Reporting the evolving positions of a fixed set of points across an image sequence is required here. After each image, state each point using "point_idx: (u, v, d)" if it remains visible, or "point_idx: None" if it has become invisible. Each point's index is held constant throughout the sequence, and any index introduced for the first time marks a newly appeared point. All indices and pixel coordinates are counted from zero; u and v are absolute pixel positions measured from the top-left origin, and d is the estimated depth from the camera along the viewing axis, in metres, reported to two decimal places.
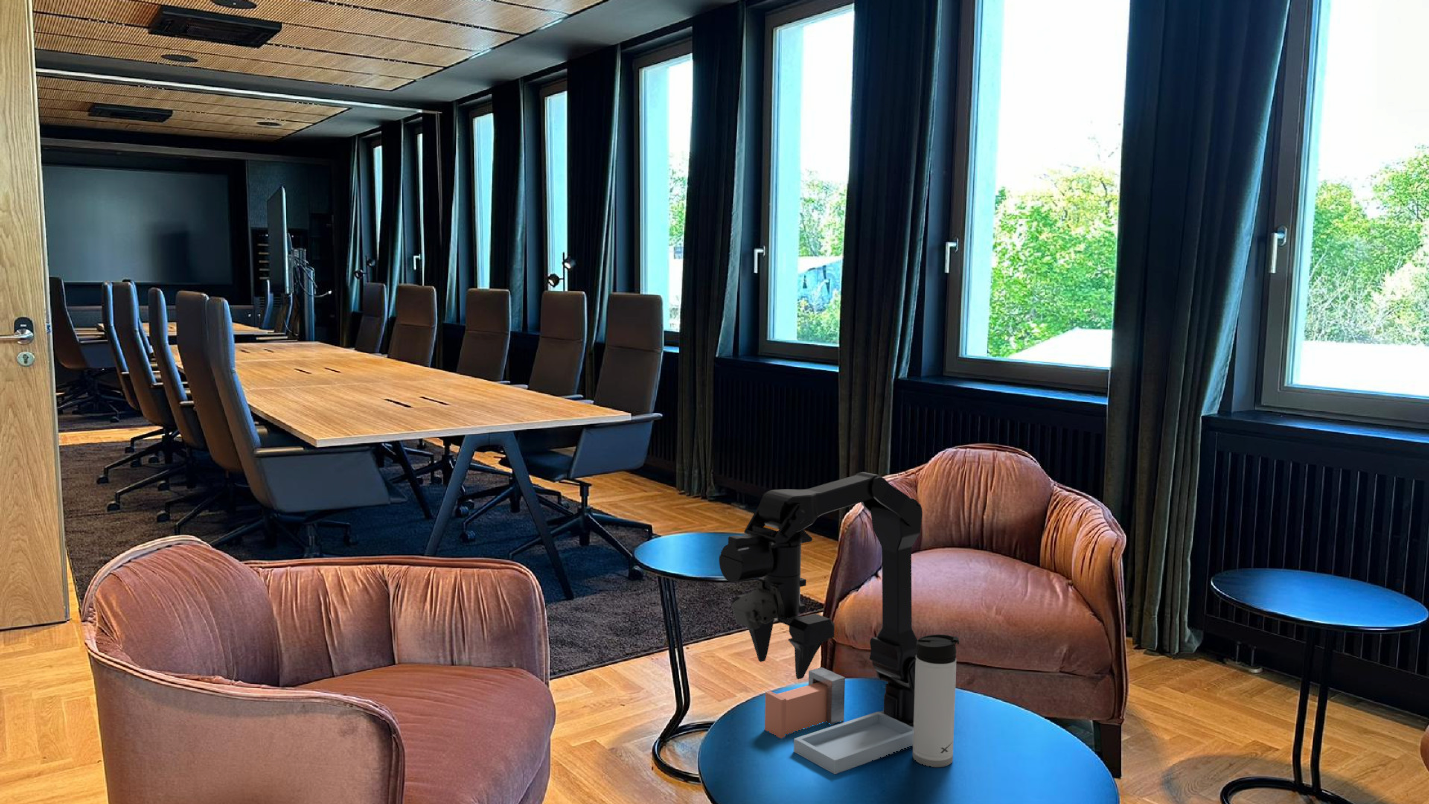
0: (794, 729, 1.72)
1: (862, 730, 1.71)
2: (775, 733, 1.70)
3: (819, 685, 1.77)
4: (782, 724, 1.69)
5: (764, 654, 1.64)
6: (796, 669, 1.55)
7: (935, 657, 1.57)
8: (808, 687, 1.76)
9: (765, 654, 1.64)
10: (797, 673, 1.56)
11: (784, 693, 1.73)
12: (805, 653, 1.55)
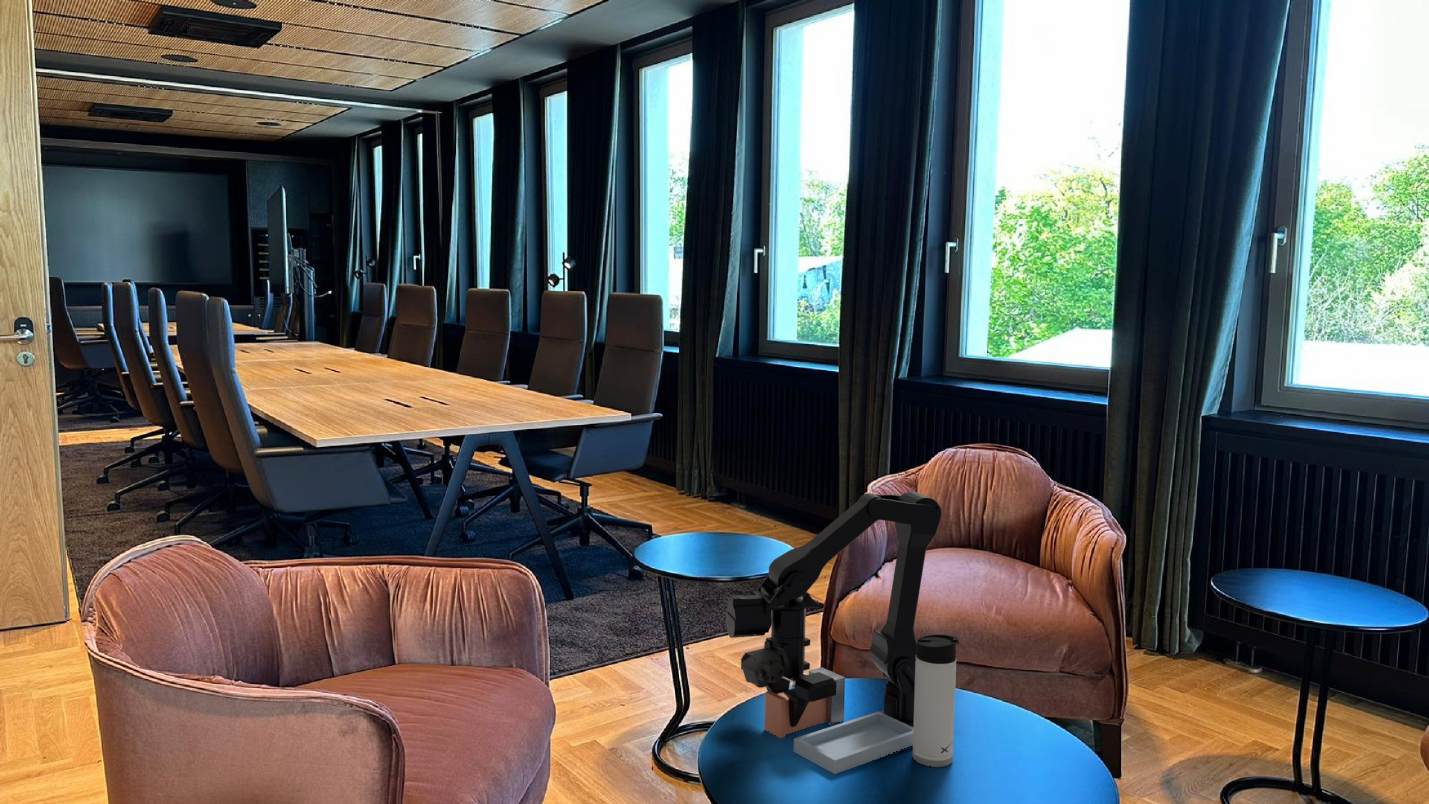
0: (794, 729, 1.72)
1: (862, 730, 1.71)
2: (775, 733, 1.70)
3: None
4: (782, 724, 1.69)
5: None
6: (790, 718, 1.70)
7: (934, 657, 1.58)
8: None
9: None
10: (791, 721, 1.70)
11: None
12: (798, 703, 1.70)
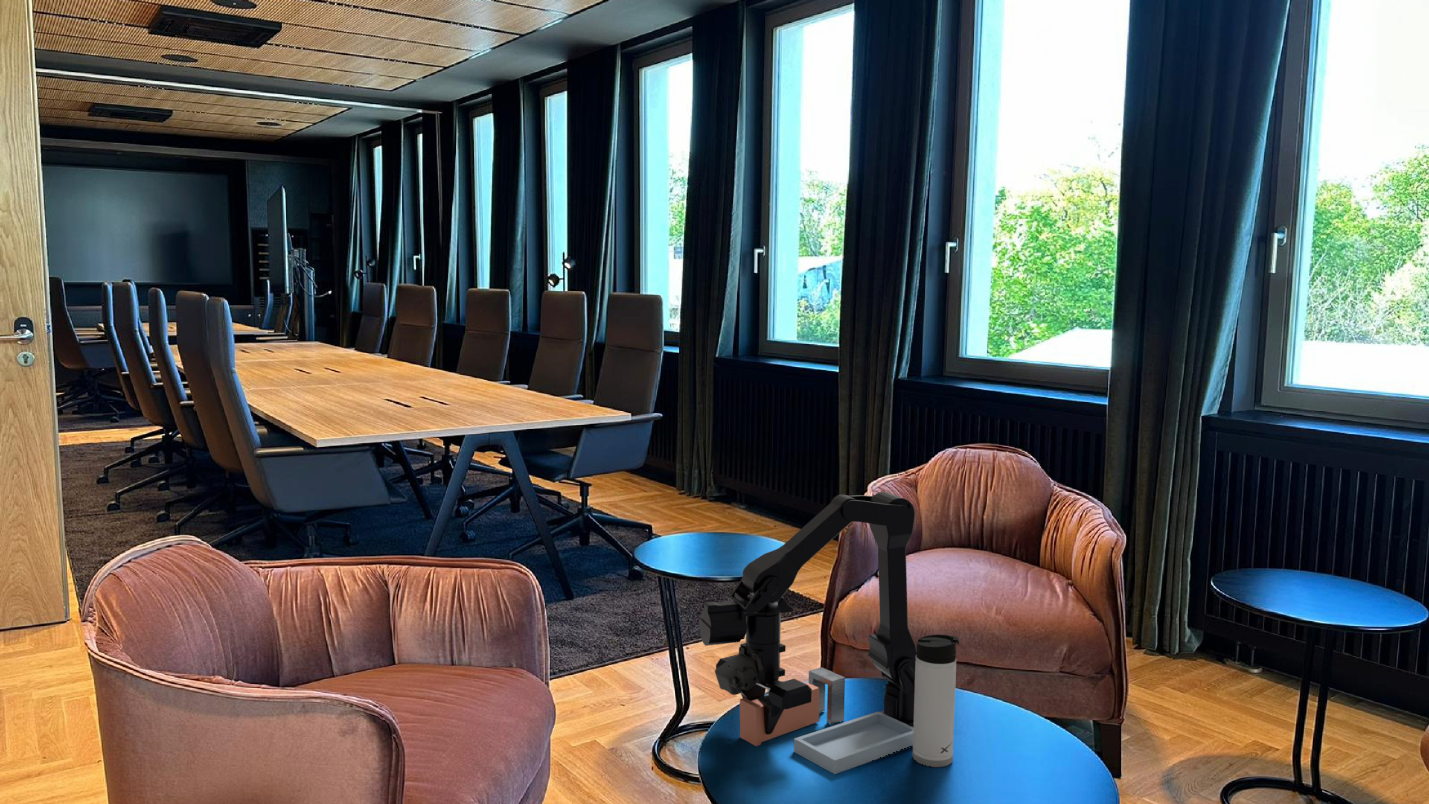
0: (770, 736, 1.69)
1: (862, 730, 1.71)
2: (750, 741, 1.67)
3: None
4: (757, 731, 1.66)
5: None
6: (765, 725, 1.67)
7: (935, 657, 1.57)
8: None
9: None
10: (766, 729, 1.67)
11: None
12: (773, 711, 1.67)
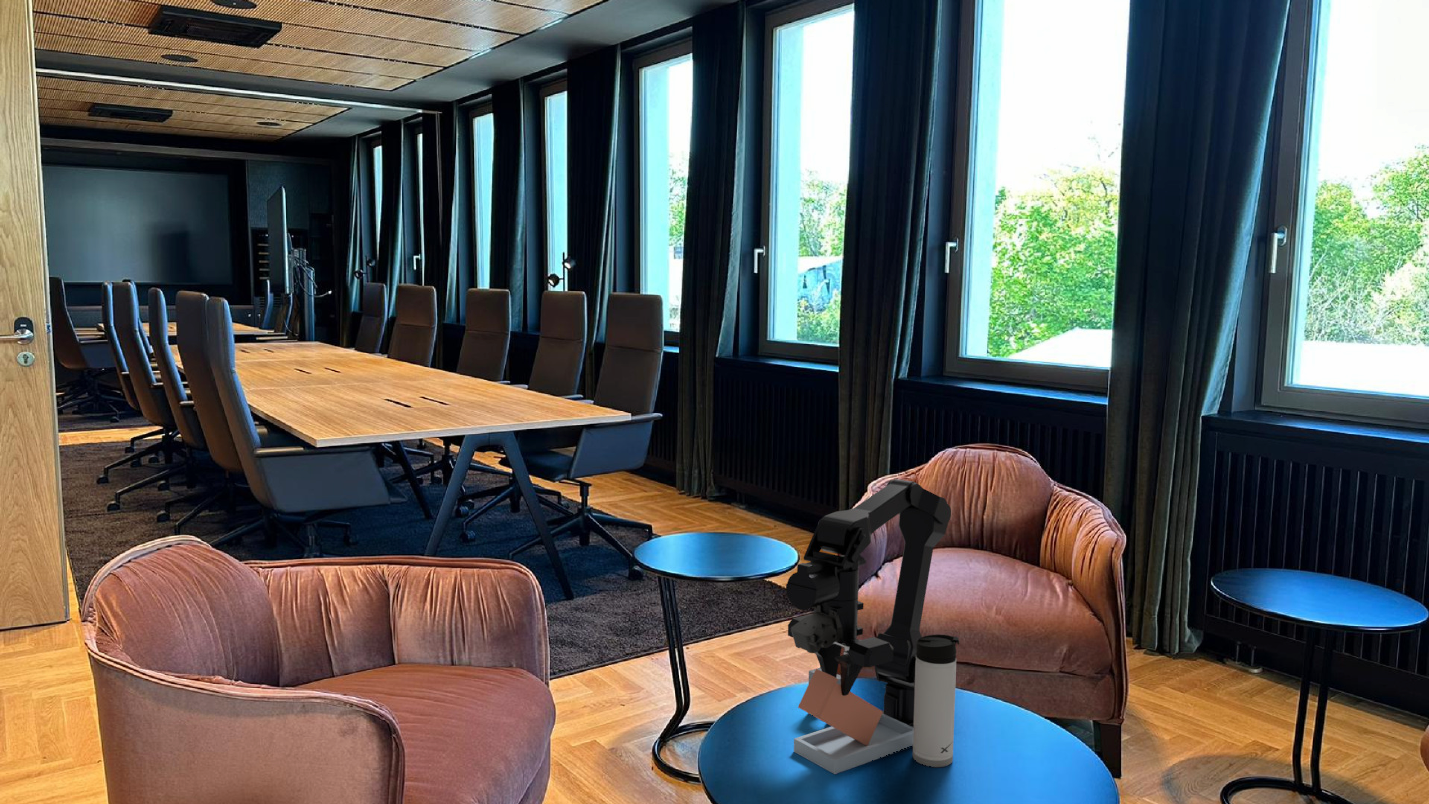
0: (828, 719, 1.59)
1: None
2: (810, 710, 1.58)
3: None
4: (823, 702, 1.58)
5: None
6: (842, 686, 1.60)
7: (935, 657, 1.57)
8: None
9: None
10: (843, 690, 1.60)
11: None
12: (850, 670, 1.60)
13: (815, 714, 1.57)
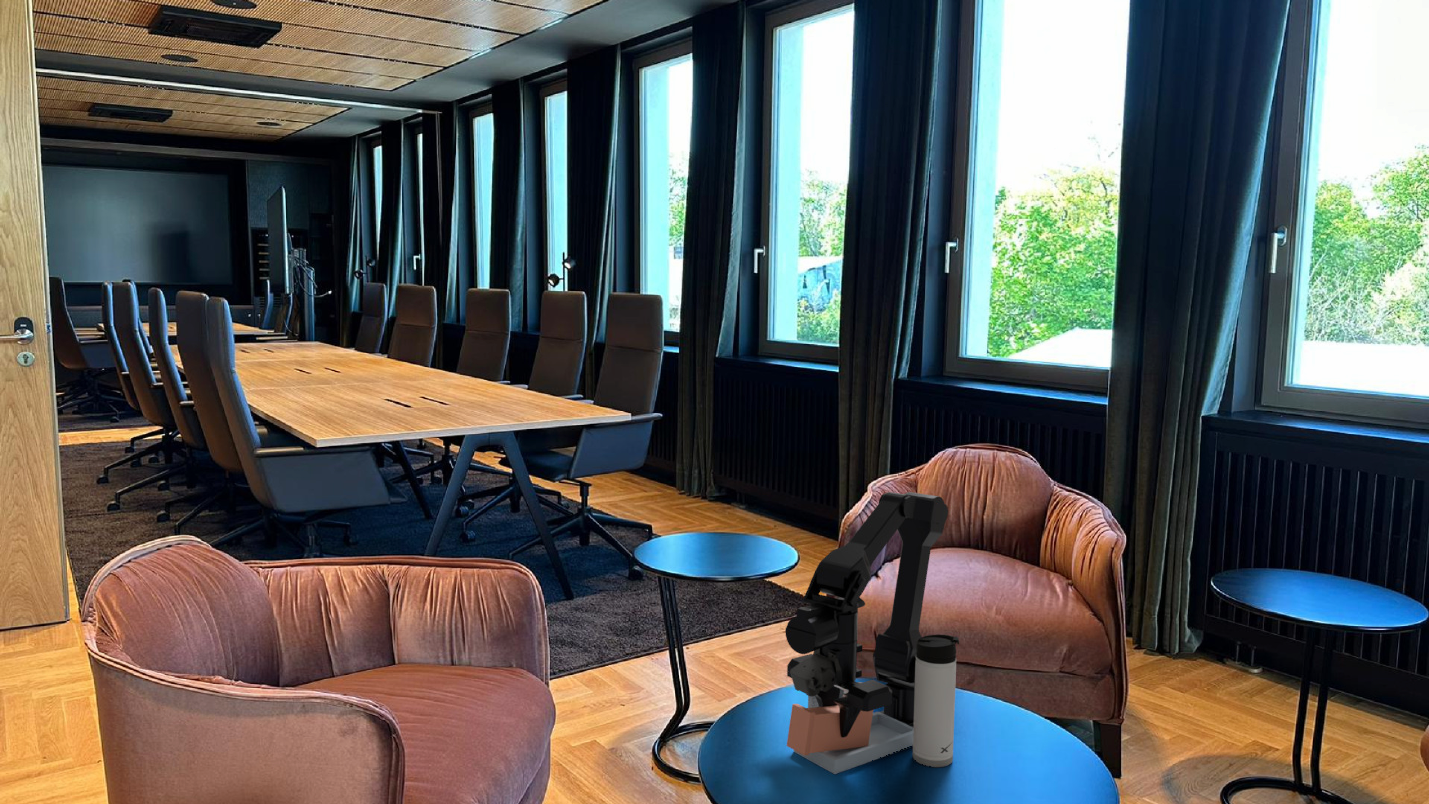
0: (818, 749, 1.59)
1: None
2: (798, 749, 1.57)
3: None
4: (808, 740, 1.56)
5: None
6: (841, 728, 1.61)
7: (935, 657, 1.57)
8: (837, 707, 1.63)
9: None
10: (842, 732, 1.61)
11: (812, 708, 1.61)
12: (849, 713, 1.60)
13: (803, 753, 1.56)
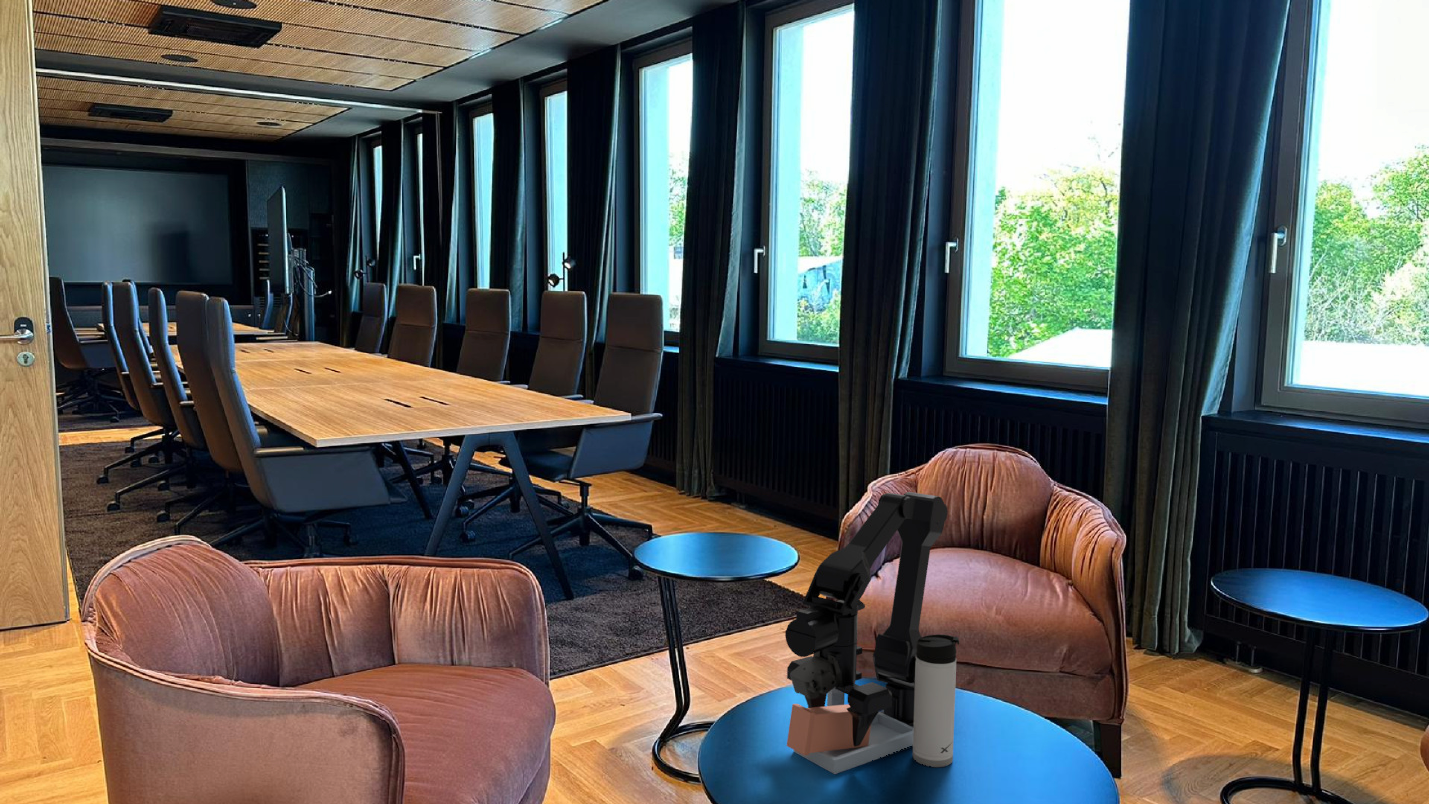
0: (818, 749, 1.59)
1: None
2: (798, 749, 1.57)
3: (848, 707, 1.65)
4: (808, 740, 1.56)
5: None
6: (853, 737, 1.58)
7: (935, 657, 1.57)
8: (837, 707, 1.63)
9: None
10: (854, 741, 1.59)
11: (812, 708, 1.61)
12: (862, 721, 1.58)
13: (803, 753, 1.56)
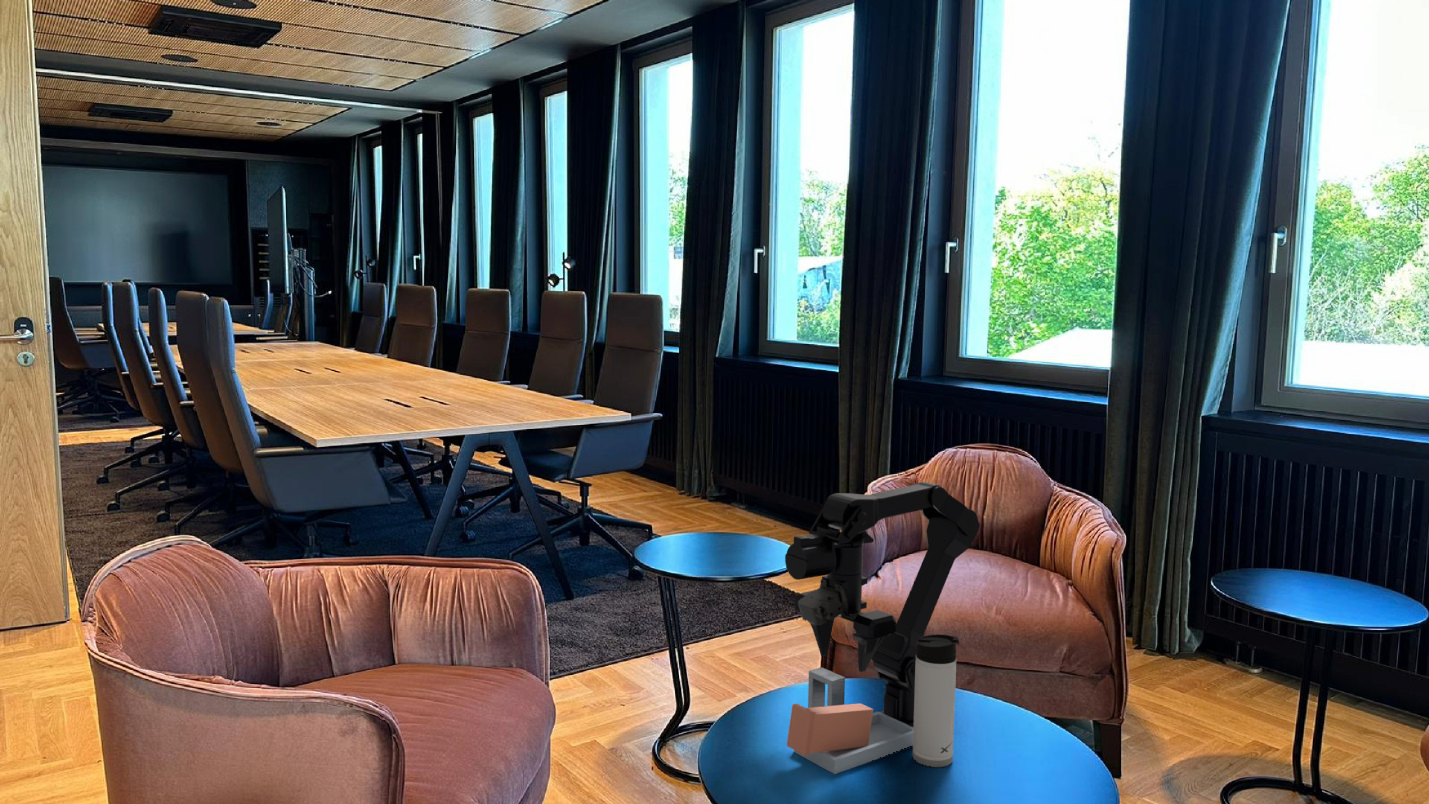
0: (818, 749, 1.59)
1: None
2: (798, 749, 1.57)
3: (848, 707, 1.65)
4: (808, 740, 1.56)
5: (826, 648, 1.73)
6: (859, 662, 1.65)
7: (935, 657, 1.57)
8: (837, 707, 1.63)
9: (827, 648, 1.73)
10: (860, 666, 1.65)
11: (812, 708, 1.61)
12: (868, 647, 1.64)
13: (803, 753, 1.56)
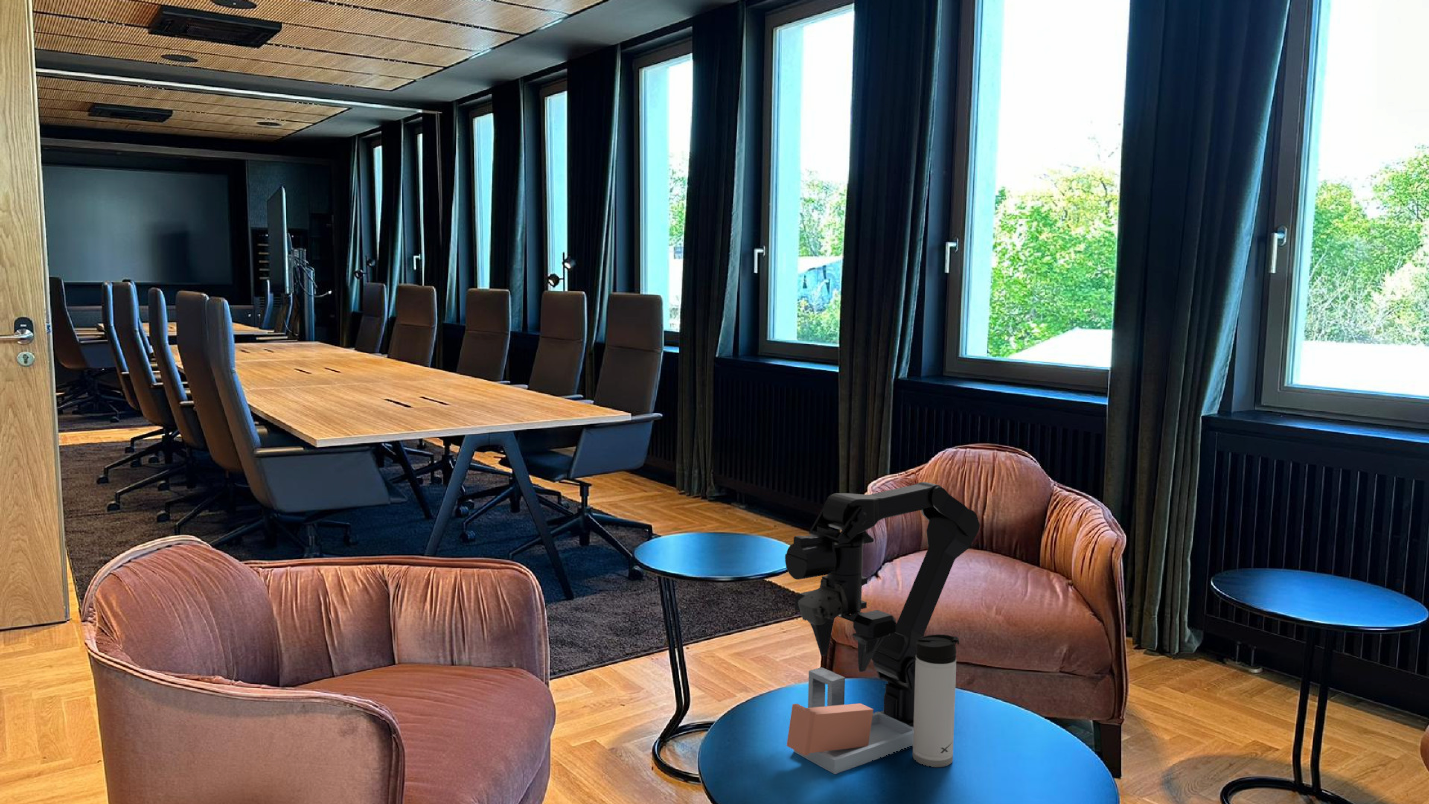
0: (818, 749, 1.59)
1: None
2: (798, 749, 1.57)
3: (848, 707, 1.65)
4: (808, 740, 1.56)
5: (826, 648, 1.73)
6: (859, 662, 1.65)
7: (935, 657, 1.57)
8: (837, 707, 1.63)
9: (827, 648, 1.73)
10: (860, 666, 1.65)
11: (812, 708, 1.61)
12: (868, 647, 1.64)
13: (803, 753, 1.56)
